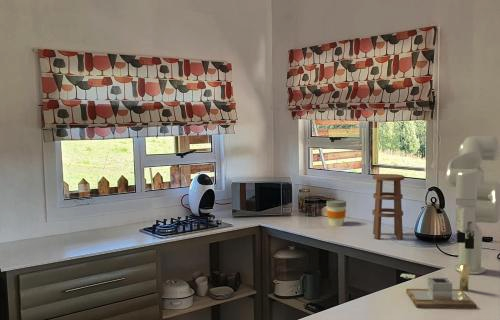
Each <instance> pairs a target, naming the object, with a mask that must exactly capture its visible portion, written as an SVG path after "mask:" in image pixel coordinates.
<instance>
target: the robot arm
mask: <svg viewBox="0 0 500 320" xmlns="http://www.w3.org/2000/svg"><path fill="white" fill-rule="evenodd" d="M458 154H459V155H457V156H456V157H454V158H453V159H451V160H449V163H448V164H447V168H446V173H445V183H446V184H447V186H449V187H452V188H456V190H455V206H456V207H455V208H456V209H455V216H454V218H455V219H454V228H455V229H456V243H458V257H457V263H458V264H455V265H454V270H455V271H456V272H458V273H460V264H467V265H469V275H481V274H484V273H486V272H485V271H486V269H485V268H484V267H483V266H482V253H483V252H482V251H483V250H482V249H483V231H482V229H481V227H480V226H479V225H478V223H484V224H497V223H499V222H500V181H498V180H494V179H485V171H484V168H482V167H481V166H480V165H481V164H482V163H483V161H497V160H498V159H500V141H499V139H498V138H497V137H496V136H492V135H472V136H467V137H466V138H465V139H464V140H463V142H462V143H460V145H459V147H458Z"/></svg>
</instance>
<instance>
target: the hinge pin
mask: <svg viewBox="0 0 500 320" xmlns="http://www.w3.org/2000/svg"><path fill="white" fill-rule="evenodd" d="M469 277H470V274H469V265H467V264H460V272H459V289H461V290H462V291H463V292H468V291H469Z"/></svg>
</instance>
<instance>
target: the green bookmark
mask: <svg viewBox="0 0 500 320" xmlns="http://www.w3.org/2000/svg"><path fill="white" fill-rule="evenodd" d="M401 277H402V278H404V279H409V280H410V279H415V278H416V274H410V273H401V274H400V278H401Z"/></svg>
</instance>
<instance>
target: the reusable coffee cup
mask: <svg viewBox="0 0 500 320" xmlns="http://www.w3.org/2000/svg"><path fill="white" fill-rule="evenodd" d="M325 203H326V205H325V206H326V216H327V218H328V219H327V220H328V225H329V226H333V227H341V226H344V221H345V218H346V212H347V210H346V207H347V201H346V200H345V199H344V200H343V199H329V200H326V202H325Z"/></svg>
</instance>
